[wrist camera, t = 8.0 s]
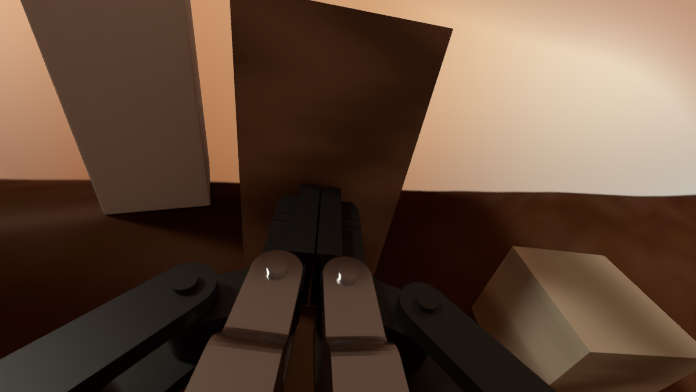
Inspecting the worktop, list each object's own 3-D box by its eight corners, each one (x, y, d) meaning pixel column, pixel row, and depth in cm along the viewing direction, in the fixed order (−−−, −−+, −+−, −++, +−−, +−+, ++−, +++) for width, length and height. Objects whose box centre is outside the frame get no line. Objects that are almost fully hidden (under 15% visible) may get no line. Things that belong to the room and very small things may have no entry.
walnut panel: (246, 302, 14) (229, -16, 7) (288, 163, 27) (297, -3, 20) (365, 310, 15) (458, 29, 8) (352, 172, 27) (383, 15, 20)
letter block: (516, 412, 12) (590, 351, 9) (470, 308, 16) (512, 245, 14) (621, 415, 13) (719, 359, 10) (551, 314, 17) (607, 256, 14)
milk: (124, 169, 22) (-49, -387, 10) (210, 165, 24) (157, -284, 12) (103, 217, 17) (-262, -699, 5) (212, 207, 20) (130, -438, 8)
